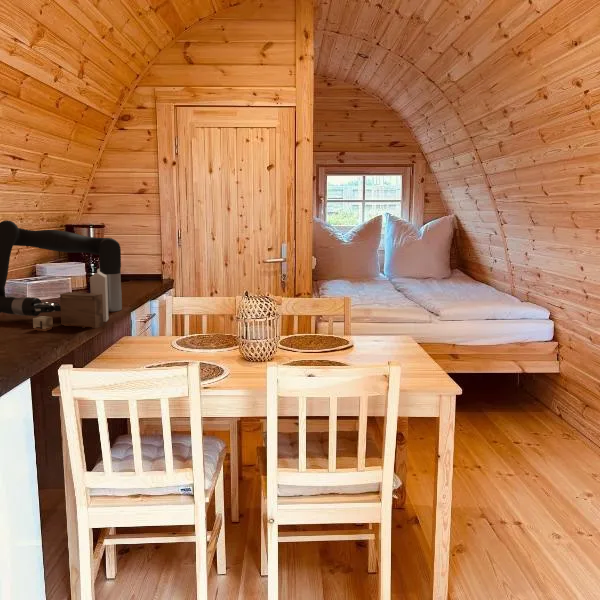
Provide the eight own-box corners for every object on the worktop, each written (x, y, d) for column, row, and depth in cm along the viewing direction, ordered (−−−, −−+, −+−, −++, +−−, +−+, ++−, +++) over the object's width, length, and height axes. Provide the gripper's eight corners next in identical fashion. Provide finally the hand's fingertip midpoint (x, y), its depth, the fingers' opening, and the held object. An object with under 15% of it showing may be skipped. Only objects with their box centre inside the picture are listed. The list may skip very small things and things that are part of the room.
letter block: (41, 328, 233) (40, 316, 232) (53, 329, 232) (52, 316, 231) (33, 331, 228) (32, 318, 227) (44, 332, 227) (44, 319, 226)
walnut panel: (69, 323, 244) (68, 292, 242) (103, 325, 241) (102, 293, 239) (61, 326, 238) (59, 294, 236) (95, 328, 235) (94, 296, 233)
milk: (108, 319, 254) (107, 268, 250) (106, 322, 248) (105, 269, 244) (93, 319, 253) (92, 267, 249) (91, 322, 247) (89, 269, 243)
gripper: (15, 299, 236) (54, 302, 233) (36, 295, 249) (73, 297, 246) (16, 318, 238) (55, 320, 234) (37, 312, 250) (74, 314, 247)
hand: (65, 308), depth 240 cm, fingers closed
